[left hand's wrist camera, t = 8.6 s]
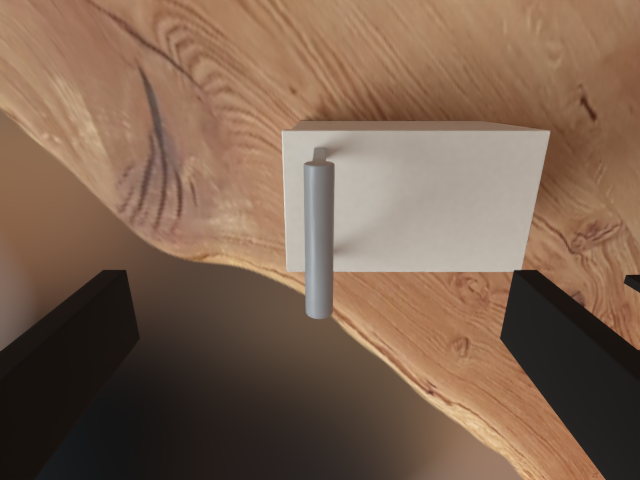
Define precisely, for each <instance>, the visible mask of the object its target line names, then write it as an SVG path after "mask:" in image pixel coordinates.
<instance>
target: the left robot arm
mask: <svg viewBox="0 0 640 480" xmlns="http://www.w3.org/2000/svg"><path fill="white" fill-rule="evenodd" d="M139 339H140V337H139V332H138V327H137V322H136V317H135V312H134V307H133V302H132V297H131V292H130V288H129V283H128V278H127V273H126V270H103V271H101V272H100V273H99V274H98V275H96V276H95V277H94V278H93V279H91V280H90V281H89V282H88V283H86V284H85V285H84V286H83V287H81V288H80V289H79V290H77V291H76V292H75V293H74V294H72V295H71V296H70V297H69V298H67V299H66V300H65V301H64V302H62V303H61V304H60V305H59V306H57V307H56V308H55V309H54V310H52V311H51V312H50V313H48V314H47V315H46V316H45V317H43V318H42V319H41V320H40V321H38V322H37V323H36V324H35V325H33V326H32V327H31V328H30V329H28V330H27V331H26V332H25V333H23V334H22V335H21V336H19V337H18V338H17V339H16V340H14V341H13V342H12V343H11V344H9V345H8V346H7V347H6V348H4V349H3V350H2V351H0V480H34V479H35V478H36V477H37V475H38V474H39V473H40V471H41V470H42V469H43V467H44V466H45V465H46V463H47V462H48V461H49V459H50V458H51V457H52V455H53V454H54V453H55V451H56V450H57V449H58V447H59V446H60V445H61V443H62V442H63V441H64V439H65V438H66V437H67V435H68V434H69V433H70V431H71V430H72V429H73V427H74V426H75V424H76V423H77V422H78V421H79V419H80V418H81V417H82V415H83V414H84V412H85V411H86V410H87V408H88V407H89V406H90V405H91V403H92V402H93V401H94V399H95V398H96V396H97V395H98V394H99V392H100V391H101V390H102V389H103V387H104V386H105V384H106V383H107V382H108V380H109V379H110V378H111V377H112V375H113V374H114V372H115V371H116V370H117V368H118V367H119V366H120V364H121V363H122V362H123V360H124V359H125V358H126V356H127V355H128V354H129V352H130V351H131V350H132V348H133V347H134V346H135V344H136V343H137V342H138V340H139ZM500 339H501V340H502V342H503V343H504V344H505V346H506V347H507V348H508V350H509V351H510V352H511V354H512V355H513V356H514V358H515V359H516V360H517V362H518V363H519V365H520V366H521V367H522V369H523V370H524V371H525V373H526V374H527V375H528V377H529V378H530V379H531V381H532V382H533V383H534V385H535V386H536V387H537V389H538V390H539V391H540V393H541V394H542V395H543V397H544V398H545V399H546V401H547V402H548V403H549V405H550V406H551V407H552V409H553V410H554V411H555V413H556V414H557V415H558V417H559V418H560V419H561V421H562V422H563V423H564V425H565V426H566V427H567V429H568V430H569V431H570V433H571V434H572V435H573V437H574V438H575V439H576V441H577V442H578V443H579V445H580V446H581V447H582V449H583V450H584V451H585V453H586V454H587V455H588V457H589V458H590V459H591V461H592V462H593V463H594V465H595V466H596V467H597V469H598V470H599V471H600V473H601V474H602V475H603V477H604V478H605V479H606V480H640V350H637V349H636V348H634V347H633V346H632V345H631V344H629V343H628V342H627V341H626V340H624V339H623V338H622V337H621V336H619V335H618V334H617V333H615V332H614V331H613V330H612V329H610V328H609V327H608V326H607V325H605V324H604V323H603V322H602V321H600V320H599V319H598V318H597V317H595V316H594V315H593V314H592V313H590V312H589V311H588V310H586V309H585V308H584V307H583V306H581V305H580V304H579V303H578V302H576V301H575V300H574V299H573V298H571V297H570V296H569V295H568V294H566V293H565V292H564V291H563V290H561V289H560V288H559V287H557V286H556V285H555V284H554V283H552V282H551V281H550V280H549V279H547V278H546V277H545V276H544V275H542V274H541V273H540V272H539V271H537V270H514V273H513V278H512V283H511V287H510V292H509V297H508V302H507V307H506V312H505V317H504V322H503V327H502V332H501V337H500Z"/></svg>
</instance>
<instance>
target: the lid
mask: <svg viewBox="0 0 640 480" xmlns="http://www.w3.org/2000/svg"><path fill="white" fill-rule="evenodd" d="M550 132H551V131H550V130H544V129H284V130H282V153H283V181H284V210H285V238H286V267H287V272H305V294H306V313H307V315H308V316H309V317H311V318H314V319H324V318H327V317H329V316H331V314H332V312H333V272H514V270H522V265H523V260H524V255H525V251H526V246H527V241H528V237H529V232H530V227H531V222H532V218H533V213H534V208H535V203H536V199H537V194H538V189H539V184H540V180H541V175H542V170H543V166H544V161H545V156H546V151H547V147H548V142H549V137H550Z"/></svg>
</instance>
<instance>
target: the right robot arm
mask: <svg viewBox="0 0 640 480" xmlns="http://www.w3.org/2000/svg"><path fill="white" fill-rule="evenodd" d="M624 283H625V284H626V285H628V286H630V287H631V288H633V289H635V290H636V291H638V292H639V293H640V275H626V277H625V281H624Z"/></svg>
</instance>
